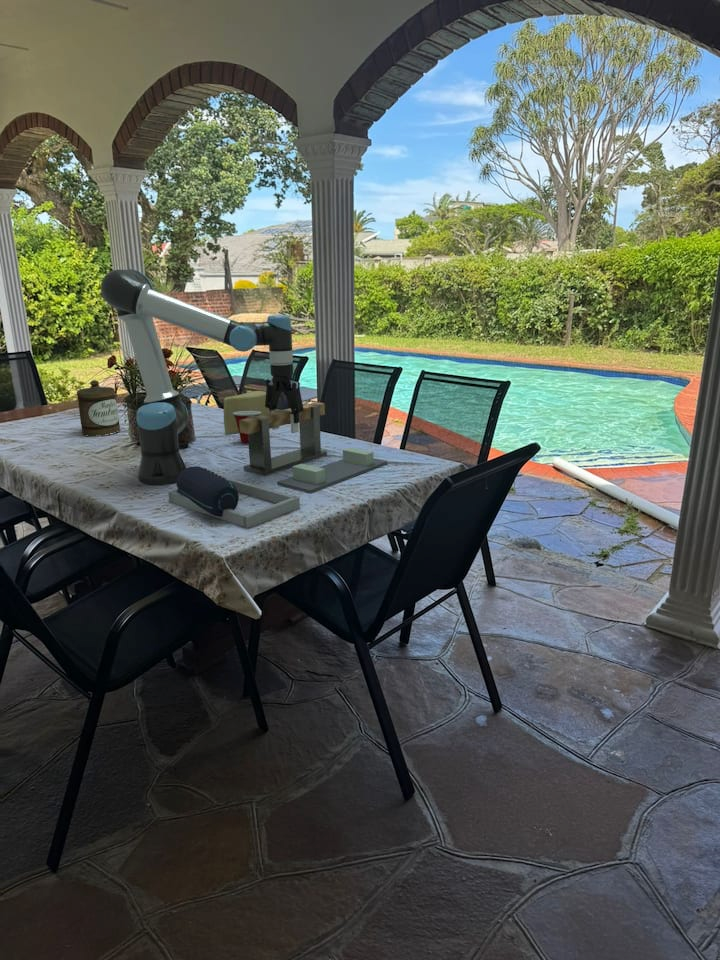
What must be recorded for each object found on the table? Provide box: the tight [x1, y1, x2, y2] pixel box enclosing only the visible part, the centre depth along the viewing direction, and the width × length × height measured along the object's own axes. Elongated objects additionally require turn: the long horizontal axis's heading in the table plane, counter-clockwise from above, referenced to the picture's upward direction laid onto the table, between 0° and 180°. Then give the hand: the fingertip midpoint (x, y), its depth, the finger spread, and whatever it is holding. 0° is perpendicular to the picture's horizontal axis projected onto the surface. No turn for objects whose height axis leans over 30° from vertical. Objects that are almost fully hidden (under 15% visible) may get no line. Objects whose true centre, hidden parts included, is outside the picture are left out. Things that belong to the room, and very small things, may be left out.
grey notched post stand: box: [243, 403, 328, 477], centre depth 218 cm, size 30×10×18 cm, turn 141°
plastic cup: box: [233, 411, 261, 444], centre depth 248 cm, size 11×11×12 cm
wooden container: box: [76, 379, 121, 437], centre depth 265 cm, size 15×15×22 cm
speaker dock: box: [167, 475, 301, 529], centre depth 181 cm, size 19×34×3 cm, turn 51°
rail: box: [239, 401, 326, 434], centre depth 216 cm, size 36×4×4 cm, turn 141°
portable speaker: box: [175, 465, 240, 517], centre depth 178 cm, size 25×10×10 cm, turn 37°
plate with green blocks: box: [276, 447, 388, 494], centre depth 207 cm, size 38×14×5 cm, turn 141°
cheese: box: [223, 390, 270, 435], centre depth 268 cm, size 22×10×15 cm, turn 139°
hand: (285, 430), depth 217 cm, fingers open, 9 cm apart
